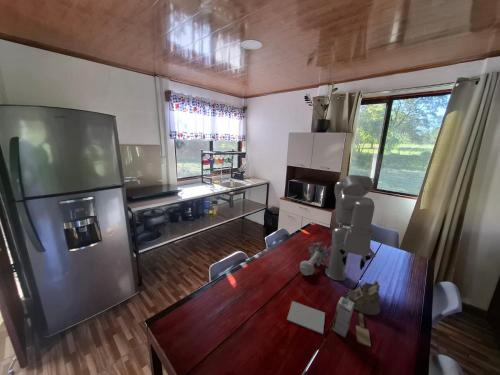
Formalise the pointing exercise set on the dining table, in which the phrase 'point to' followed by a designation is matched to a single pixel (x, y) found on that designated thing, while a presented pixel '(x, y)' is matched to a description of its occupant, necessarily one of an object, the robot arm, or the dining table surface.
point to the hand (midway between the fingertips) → (352, 265)
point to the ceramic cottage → (366, 298)
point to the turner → (362, 332)
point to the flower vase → (313, 259)
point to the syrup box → (343, 316)
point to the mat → (306, 317)
